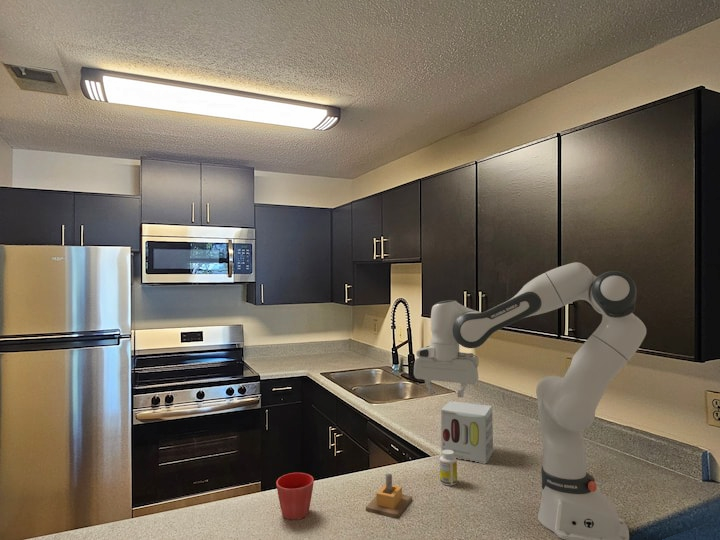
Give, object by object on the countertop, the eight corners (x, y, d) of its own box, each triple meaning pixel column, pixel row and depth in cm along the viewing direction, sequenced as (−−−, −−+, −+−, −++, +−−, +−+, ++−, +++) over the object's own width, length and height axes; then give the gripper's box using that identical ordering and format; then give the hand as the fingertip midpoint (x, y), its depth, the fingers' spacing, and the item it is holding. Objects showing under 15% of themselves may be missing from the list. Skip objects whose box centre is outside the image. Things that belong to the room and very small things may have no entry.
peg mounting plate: (411, 499, 142) (411, 470, 142) (397, 518, 131) (396, 486, 131) (382, 492, 147) (381, 464, 147) (365, 510, 136) (365, 480, 136)
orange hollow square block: (402, 498, 141) (401, 486, 141) (393, 508, 135) (393, 496, 135) (385, 494, 143) (385, 483, 143) (376, 505, 137) (376, 493, 137)
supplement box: (440, 457, 174) (439, 409, 175) (450, 445, 186) (449, 400, 186) (486, 465, 167) (485, 415, 167) (494, 452, 178) (493, 405, 178)
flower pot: (317, 519, 132) (317, 485, 132) (278, 525, 128) (278, 491, 129) (310, 501, 142) (310, 470, 142) (274, 507, 139) (274, 475, 139)
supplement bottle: (454, 478, 156) (453, 448, 156) (459, 485, 151) (458, 454, 151) (438, 479, 156) (437, 448, 156) (442, 486, 150) (442, 455, 150)
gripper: (480, 352, 144) (481, 396, 143) (418, 348, 153) (419, 389, 153) (475, 355, 138) (476, 401, 138) (411, 351, 147) (412, 394, 147)
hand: (445, 395), depth 145 cm, fingers open, 8 cm apart
